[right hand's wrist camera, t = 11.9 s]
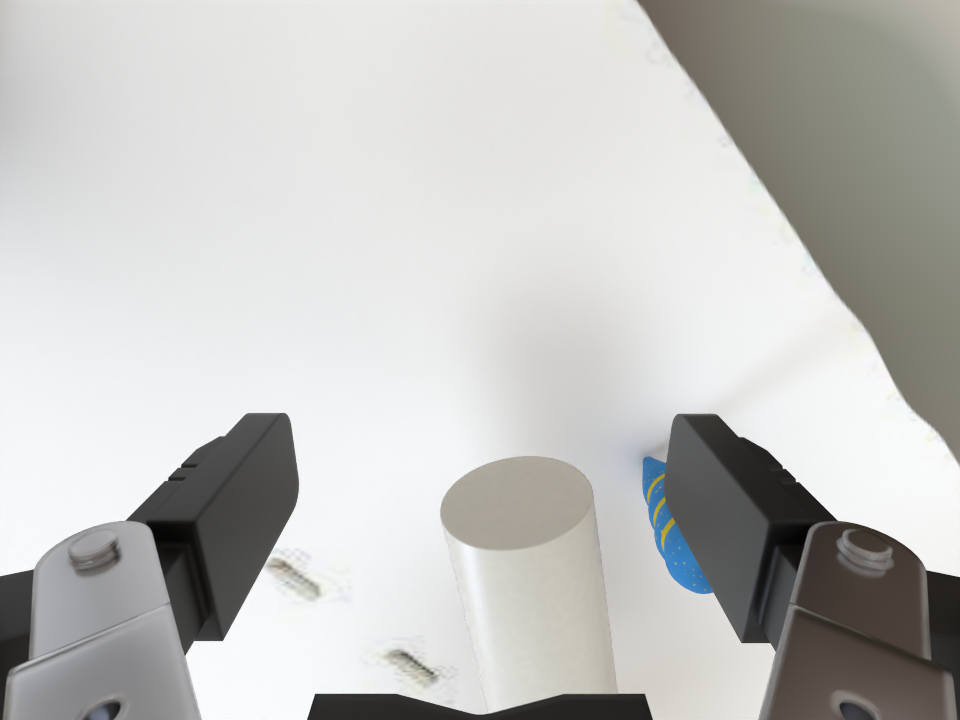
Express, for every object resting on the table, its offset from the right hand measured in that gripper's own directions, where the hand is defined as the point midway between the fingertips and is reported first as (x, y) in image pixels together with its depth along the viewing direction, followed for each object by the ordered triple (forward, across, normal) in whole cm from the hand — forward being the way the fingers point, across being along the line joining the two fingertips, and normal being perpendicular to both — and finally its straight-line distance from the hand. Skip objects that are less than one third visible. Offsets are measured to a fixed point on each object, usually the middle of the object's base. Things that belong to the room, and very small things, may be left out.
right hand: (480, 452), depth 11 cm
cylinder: (+11, -4, +20) cm, 23 cm away
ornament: (+29, -14, +18) cm, 37 cm away
